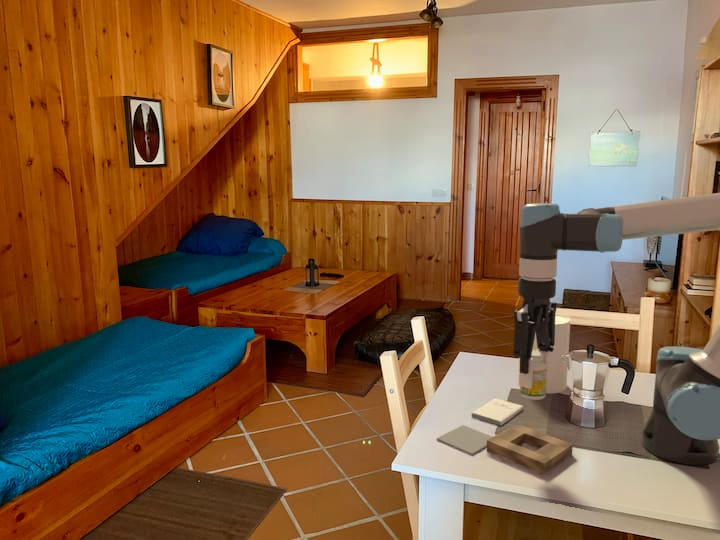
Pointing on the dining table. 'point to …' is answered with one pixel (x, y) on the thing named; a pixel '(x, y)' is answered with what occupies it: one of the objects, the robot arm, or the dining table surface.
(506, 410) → the external hard drive
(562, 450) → the block
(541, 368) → the supplement bottle
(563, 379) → the canister
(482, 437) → the felt pad
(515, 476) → the dining table surface
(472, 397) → the dining table surface
